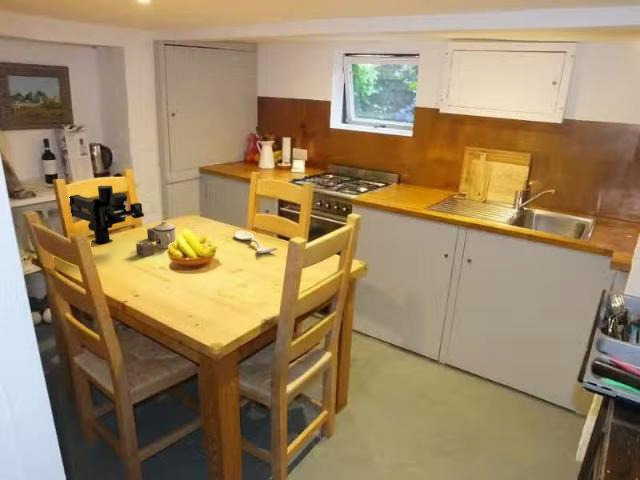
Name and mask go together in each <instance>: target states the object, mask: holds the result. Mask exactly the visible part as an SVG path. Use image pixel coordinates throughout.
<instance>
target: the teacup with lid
mask: <svg viewBox="0 0 640 480" xmlns="http://www.w3.org/2000/svg"><path fill="white" fill-rule="evenodd" d="M154 230H155V239H156V241H155V246H156V248H158V249H163V250H165V249H169V248H168V245H169V244H170V243H172V242H174V241H175V240H176V226H175V224H172V223H170V222H168V221H167V220H162V222H161V223H159V224H156V225H155V226H154Z"/></svg>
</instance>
